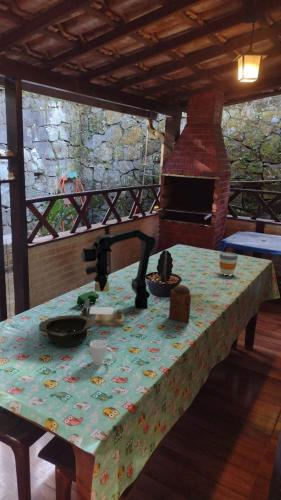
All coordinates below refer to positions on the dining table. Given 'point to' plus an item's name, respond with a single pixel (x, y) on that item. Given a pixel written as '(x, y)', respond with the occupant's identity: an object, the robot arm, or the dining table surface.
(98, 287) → the olive wooden block
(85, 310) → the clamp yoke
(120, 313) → the plane body
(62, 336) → the stone bowl
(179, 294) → the wooden figurine
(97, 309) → the mat
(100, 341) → the cup
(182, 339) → the dining table surface
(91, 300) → the green lumpy block
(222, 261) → the reusable coffee cup
